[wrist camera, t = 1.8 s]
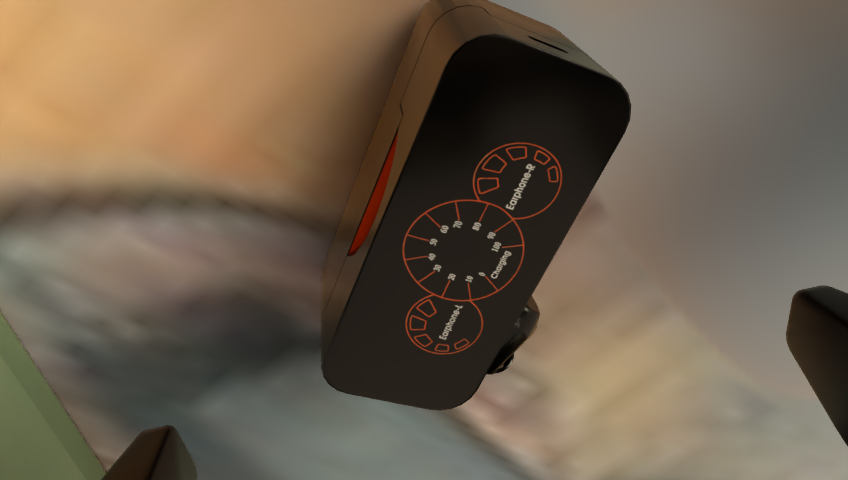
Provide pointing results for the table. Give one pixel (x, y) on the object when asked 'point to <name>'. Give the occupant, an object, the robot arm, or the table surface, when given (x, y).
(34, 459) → the green open box
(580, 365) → the table surface
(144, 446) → the robot arm
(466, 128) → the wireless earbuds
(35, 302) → the table surface
